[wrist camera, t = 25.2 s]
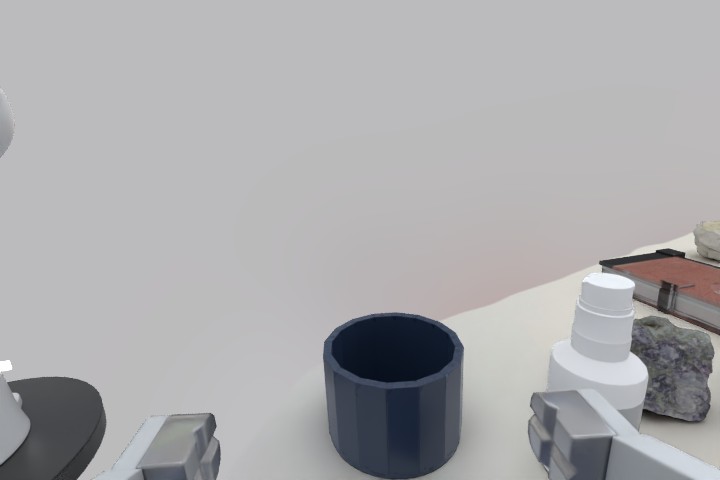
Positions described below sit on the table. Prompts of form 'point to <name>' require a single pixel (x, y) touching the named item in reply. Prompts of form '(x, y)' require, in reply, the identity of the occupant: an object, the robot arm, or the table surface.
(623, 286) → the spray bottle
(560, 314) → the table surface
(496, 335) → the table surface
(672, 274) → the book
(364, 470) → the pot
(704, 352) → the mineral rock
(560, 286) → the table surface
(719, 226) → the white rock
